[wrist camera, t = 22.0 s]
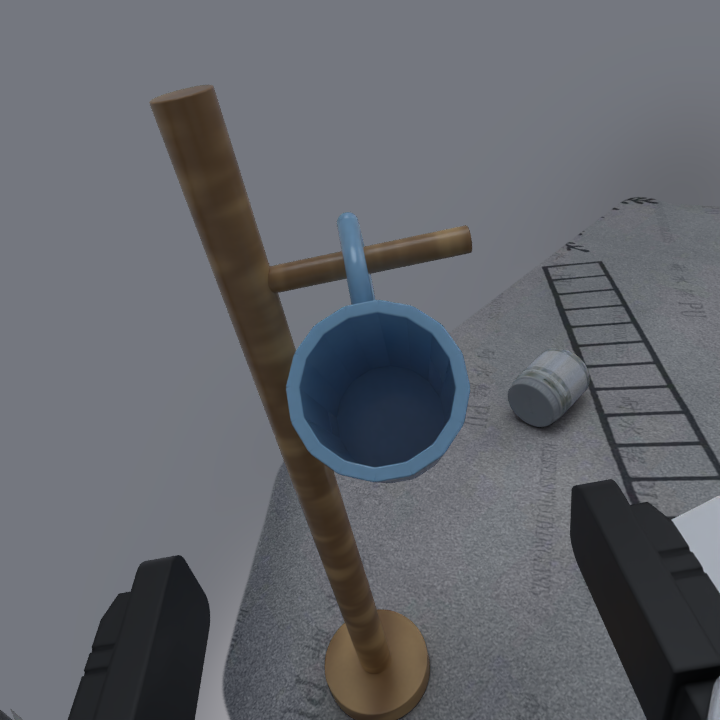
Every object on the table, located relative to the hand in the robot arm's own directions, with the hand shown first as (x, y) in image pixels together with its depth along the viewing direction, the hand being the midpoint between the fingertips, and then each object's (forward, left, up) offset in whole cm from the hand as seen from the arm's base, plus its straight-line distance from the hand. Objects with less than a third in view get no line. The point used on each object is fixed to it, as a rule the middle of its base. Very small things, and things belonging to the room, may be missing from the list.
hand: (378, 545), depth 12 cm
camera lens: (+39, +14, -32) cm, 52 cm away
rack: (+11, +11, -35) cm, 38 cm away
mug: (+13, +11, -8) cm, 19 cm away
